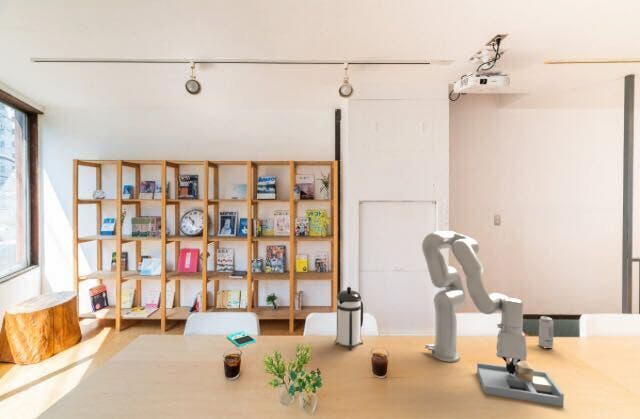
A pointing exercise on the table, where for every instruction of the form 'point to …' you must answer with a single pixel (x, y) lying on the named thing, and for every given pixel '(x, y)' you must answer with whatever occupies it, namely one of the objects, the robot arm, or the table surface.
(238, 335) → the handheld game console
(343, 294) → the coffee press
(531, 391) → the board
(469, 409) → the table surface
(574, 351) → the table surface
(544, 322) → the energy drink can
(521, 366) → the maple cube
